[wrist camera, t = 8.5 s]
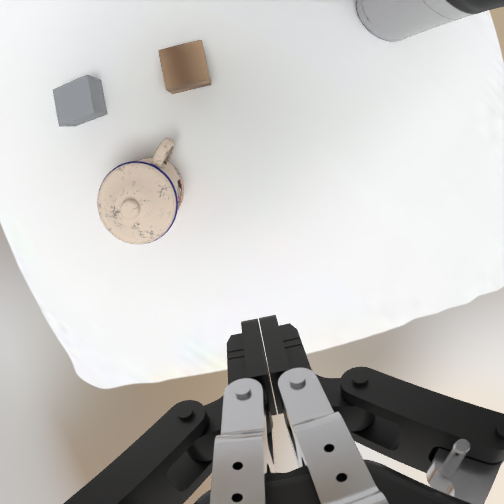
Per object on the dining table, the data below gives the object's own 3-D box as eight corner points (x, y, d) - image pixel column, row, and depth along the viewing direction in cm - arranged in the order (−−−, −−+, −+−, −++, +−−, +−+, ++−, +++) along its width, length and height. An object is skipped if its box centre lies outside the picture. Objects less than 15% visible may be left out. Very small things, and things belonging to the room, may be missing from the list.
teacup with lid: (168, 234, 43) (152, 268, 32) (110, 206, 40) (76, 232, 30) (208, 153, 39) (203, 160, 29) (145, 124, 37) (118, 121, 26)
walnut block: (203, 50, 35) (201, 39, 30) (211, 84, 36) (209, 78, 32) (165, 59, 34) (158, 50, 30) (172, 94, 36) (166, 89, 32)
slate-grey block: (101, 80, 34) (87, 74, 30) (107, 114, 36) (93, 112, 31) (69, 93, 34) (52, 89, 30) (75, 126, 36) (59, 126, 31)
